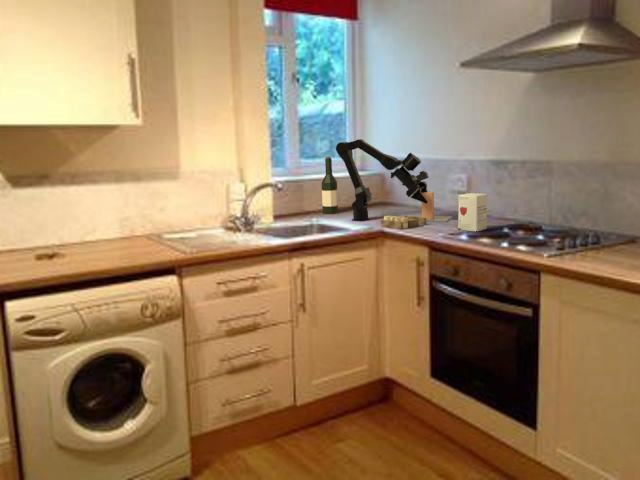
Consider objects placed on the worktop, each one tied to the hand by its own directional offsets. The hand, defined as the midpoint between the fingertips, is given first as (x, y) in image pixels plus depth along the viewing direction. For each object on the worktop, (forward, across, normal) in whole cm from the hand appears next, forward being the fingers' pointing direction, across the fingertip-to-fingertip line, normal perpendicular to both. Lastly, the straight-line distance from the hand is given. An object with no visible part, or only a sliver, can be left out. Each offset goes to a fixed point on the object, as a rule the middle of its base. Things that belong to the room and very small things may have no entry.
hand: (429, 201), depth 282 cm
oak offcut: (+1, -26, +10) cm, 28 cm away
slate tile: (+6, 0, +7) cm, 9 cm away
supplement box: (+23, -19, -10) cm, 31 cm away
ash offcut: (-3, -23, +14) cm, 27 cm away
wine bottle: (-35, +22, +48) cm, 63 cm away
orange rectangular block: (+5, 0, +6) cm, 8 cm away
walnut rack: (+2, -19, +11) cm, 22 cm away
